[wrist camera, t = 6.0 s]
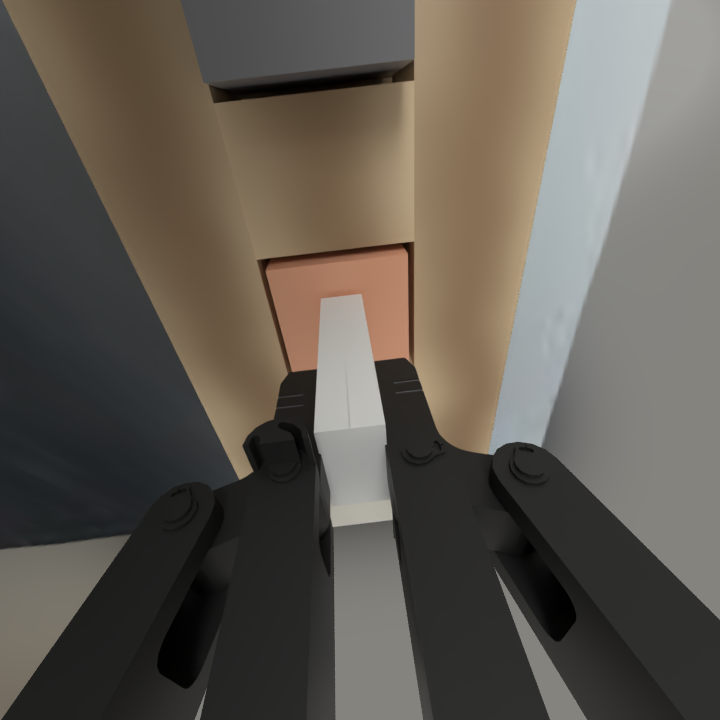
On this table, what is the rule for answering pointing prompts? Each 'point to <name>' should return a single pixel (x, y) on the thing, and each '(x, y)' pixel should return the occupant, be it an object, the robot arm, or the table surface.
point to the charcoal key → (299, 41)
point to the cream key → (361, 513)
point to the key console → (315, 186)
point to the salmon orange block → (340, 278)
